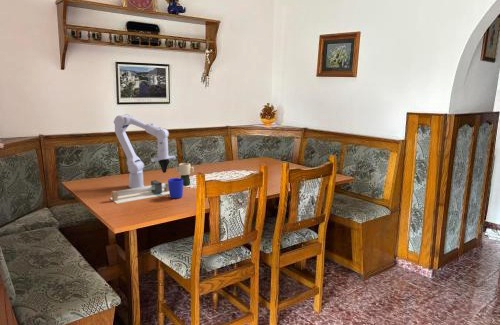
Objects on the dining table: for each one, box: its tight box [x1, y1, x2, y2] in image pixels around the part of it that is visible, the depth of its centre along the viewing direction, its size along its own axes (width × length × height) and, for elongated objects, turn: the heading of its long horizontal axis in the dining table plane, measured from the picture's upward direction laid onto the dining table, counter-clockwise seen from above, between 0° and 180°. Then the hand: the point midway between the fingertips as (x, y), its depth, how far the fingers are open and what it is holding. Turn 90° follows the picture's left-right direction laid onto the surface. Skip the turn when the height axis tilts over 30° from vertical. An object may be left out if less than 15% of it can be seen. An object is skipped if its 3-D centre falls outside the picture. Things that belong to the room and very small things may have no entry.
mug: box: [167, 177, 184, 200], centre depth 221 cm, size 8×12×10 cm
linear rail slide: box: [109, 181, 170, 205], centre depth 222 cm, size 12×32×5 cm, turn 126°
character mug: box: [175, 162, 195, 186], centre depth 246 cm, size 11×7×13 cm, turn 87°
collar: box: [150, 179, 163, 194], centre depth 227 cm, size 8×3×6 cm, turn 36°
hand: (164, 172), depth 236 cm, fingers closed
